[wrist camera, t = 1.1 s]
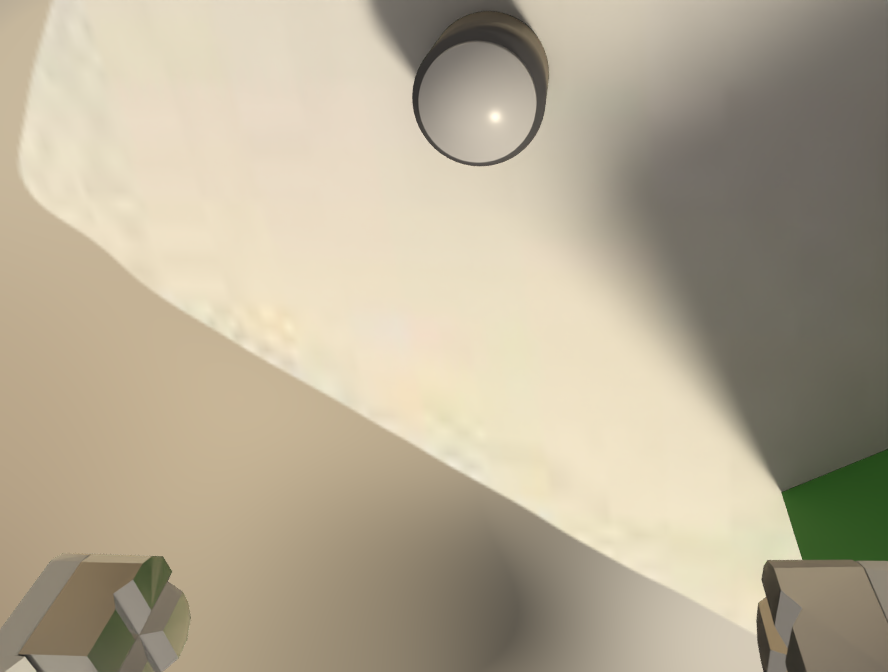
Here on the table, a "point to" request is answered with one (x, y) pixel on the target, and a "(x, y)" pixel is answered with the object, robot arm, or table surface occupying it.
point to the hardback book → (843, 512)
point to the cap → (482, 89)
